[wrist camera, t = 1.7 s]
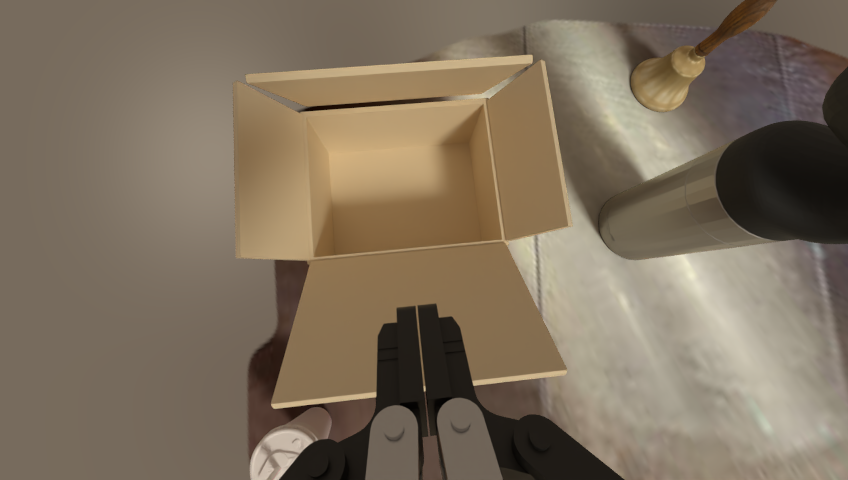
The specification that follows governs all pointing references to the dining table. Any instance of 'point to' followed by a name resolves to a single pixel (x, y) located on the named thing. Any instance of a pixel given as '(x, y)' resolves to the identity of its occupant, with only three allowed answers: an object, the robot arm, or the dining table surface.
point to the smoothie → (288, 443)
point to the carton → (402, 227)
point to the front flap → (390, 80)
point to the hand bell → (689, 61)
